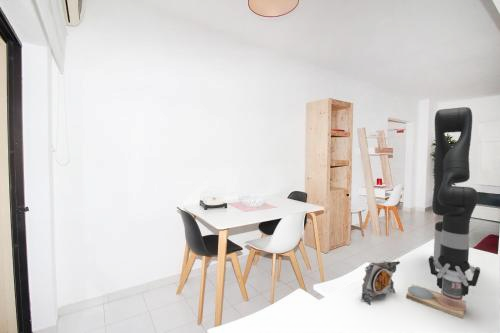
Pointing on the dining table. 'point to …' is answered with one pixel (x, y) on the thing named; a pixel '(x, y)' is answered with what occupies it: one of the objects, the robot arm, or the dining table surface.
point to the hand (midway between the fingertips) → (451, 291)
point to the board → (435, 303)
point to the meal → (378, 279)
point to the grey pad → (420, 292)
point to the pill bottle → (452, 285)
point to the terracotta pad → (451, 304)
